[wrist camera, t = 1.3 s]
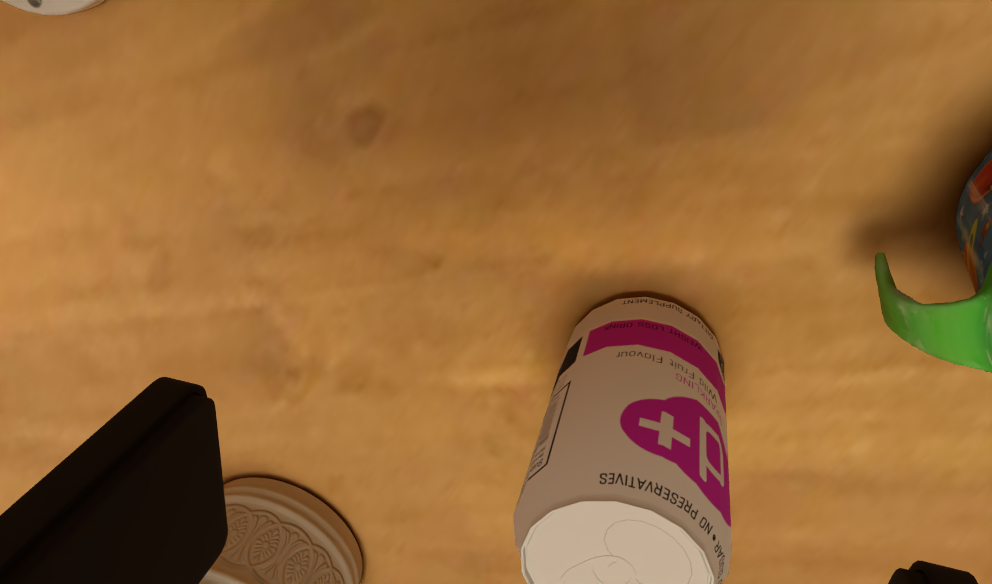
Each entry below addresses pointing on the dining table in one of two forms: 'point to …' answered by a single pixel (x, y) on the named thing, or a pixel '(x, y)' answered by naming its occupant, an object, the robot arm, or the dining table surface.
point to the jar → (283, 538)
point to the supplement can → (631, 455)
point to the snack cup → (961, 324)
